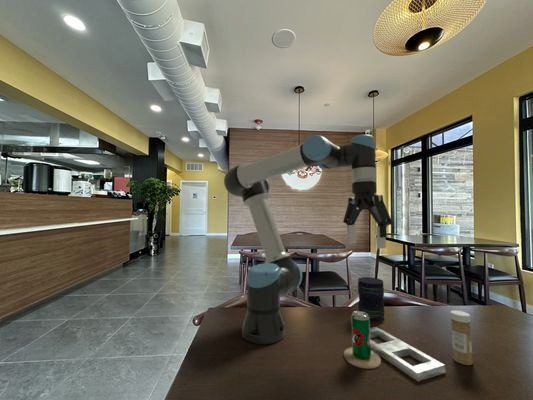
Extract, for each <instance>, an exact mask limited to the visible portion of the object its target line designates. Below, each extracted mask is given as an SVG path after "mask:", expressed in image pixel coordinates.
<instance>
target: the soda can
mask: <svg viewBox="0 0 533 400" xmlns="http://www.w3.org/2000/svg"><path fill="white" fill-rule="evenodd" d="M350 318H351V320H350V321H351V345H352V346H351V347H352V353H353V355H354V356H355V357H356V358H358V359H361V360H367V359H369V358H370V357H371V351H372V350H371V342H370V339H371V338H370V328H371V322H370V318H369V317H368V314H367V313H366V312H363V311H359V310H355V311H352V314H351V316H350Z"/></svg>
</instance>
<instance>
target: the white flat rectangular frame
mask: <svg viewBox="0 0 533 400" xmlns="http://www.w3.org/2000/svg"><path fill="white" fill-rule="evenodd" d="M378 337H379V338H381V340H384V341H385V342H381V343H377V342H376V341H374V340H373V339H372V338H378ZM370 342H371V351H373V352H375V353H376V354H378V355H379V357H380V358H382V359H385V360H386V361H387V362H389V363H390V364H391V365H393V366H395V367H396V368H397V369H399V370H400V371H402V372H403V373H405V374H406V375H408V376H409V377H410V378H411V379H413V380H415V381H416V382H421V381H424V380H427V379H430V378H433V377H436V376H440V375H443V374H446V364H444V363H442V362H441V361H439V360H437V359H435V358H433V357H432V356H430V355H428V354H426V353H424V352H423V351H421V350H419V349H418V348H415V347H414V346H411V345H410V344H408V343H406V342H405V341H403V340H401V339H399V338H397V337H396V336H394V335H392V334H390V333H388V331H385V330H383V329H381V328H380V327H377V326H373V327H370ZM407 356H410V357H412V358H414V359H415V360H417V361H419V362H420V363H419V364H416V365H412V364H410V363H409V362H407V361H405V360H404V359H403V357H407Z"/></svg>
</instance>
